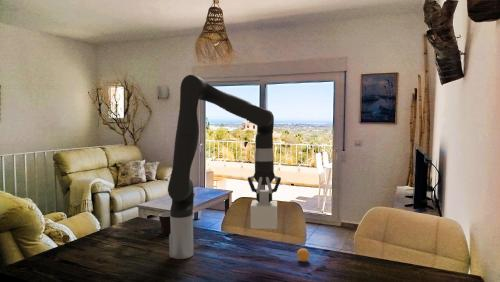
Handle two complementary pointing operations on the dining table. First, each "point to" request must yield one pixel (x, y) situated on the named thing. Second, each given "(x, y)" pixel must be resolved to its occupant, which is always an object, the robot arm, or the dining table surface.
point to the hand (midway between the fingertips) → (264, 202)
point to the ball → (303, 255)
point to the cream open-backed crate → (264, 212)
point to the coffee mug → (165, 223)
